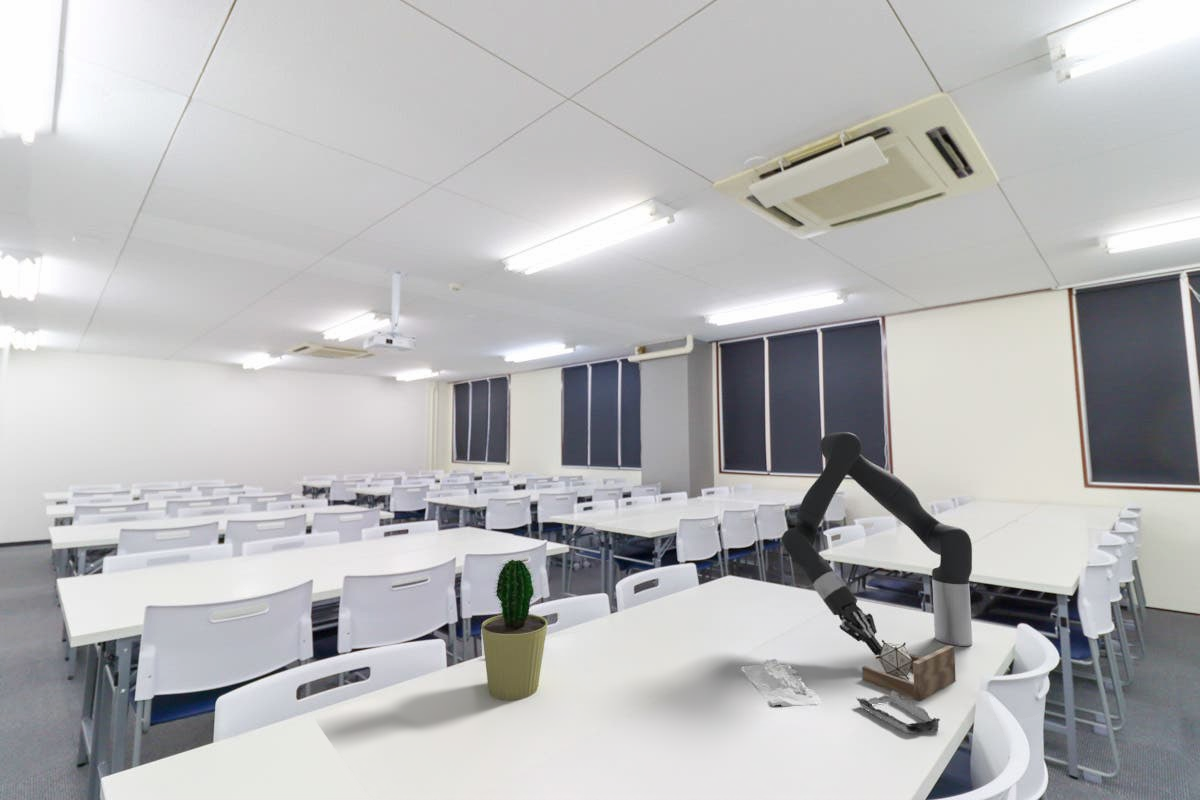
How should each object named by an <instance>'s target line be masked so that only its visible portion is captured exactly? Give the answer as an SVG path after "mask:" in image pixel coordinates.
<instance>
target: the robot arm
mask: <svg viewBox="0 0 1200 800" xmlns="http://www.w3.org/2000/svg"><path fill="white" fill-rule="evenodd" d="M862 447H863V446H862V442H861V439H860V438H859V437H858V436H857V435H856V434H854V433H852V432H848V431H847V432H846V431H841V432H839V431H838V432H831V433H829V434H826V435H824V436H823V437H822V438H821V440H820V443H819V448H820V452H821V454H822V456H823V457H824V458H825V459H826V460H827V463H826V465H825V467H824V469H823V470H822V472H821V474H820V475H819V476H818V478H817V479H816V480H815V482H814V483H813V484H812V485H811V486H810V487H809V489H808V490H807V492H806V493H805V495H804V497H803V499H802V501H801V503H800V505H799V507H798V509H797V512H796V515H795V517H796V524H795V526H794V528H789V529H787V530H785V531H784V532H783V534H782V536H781V544H782V547H783V548H784V550H785V551H786V552H787V554H788V555H789V556H790V557H791V558H792V559H793V561H794V562H795V563H796V565H798V567H800V569H801V570H802V572H803V573H804V575H805V576H806V578H807V579H808V580H809V582H810V583H811V585H812V586H813V587H814V589H815V591H816V592H817V594H818V596H819V597H820V598H821V600H822V601H823V602H824V604H825V605H826V606H827V608H828V610H830V612H831V613H832V615H834V616H838V617H839V619H840V620H841V624H839V626H838V627H839V629H840V630H842V631H843V632H844V633H846V634H847V635H848V636H850V637H852V638H853V639H855V641H857V642H860V641H861V642H863V643H865V644H866V645H867V647H868V648H869V650H871V652H872V653H873V655H874V656H879V654H880V653H881V649H882V646H883V645H881V643H880V642H879V641H878V639H877V638H876V633H878V631H877V628H876V624H875V622H874V618H873V615H872V614H871V613H867V614H866V613H864V612H863V610H862V608H860V606H858V605H857V602H858V599H857V597H856V596H855V595H854V593H853V592H852V591H851V589H850V588H849V587H848V585H847V584H846V583H845V582H844V580H843V579H842V578H841V577H840V575H838V574H837V573H836V572H835V570H834V569H833V568H832V567H831V566H830V564H829V563H828V561H827V560H826V559H825V558H824V557H823V556H822V555H821V554H820V553H818V552H817V550H816V549H815V547H814V545H815V543H816V538H817V537H818V536H817V535H818V531H819V529H820V528H819V527H820V525H821V524H822V521H823V519H824V517H825V515H826V513H827V510H828V508H829V506H830V504H831V502H832V499H833V498H834V496H835V494H836V492H837V490H838V489H839V487H840V485H841V484H842V482H843V481H844V480H845V477H846V476H847V475H848V476H849V477H851V478H852V480H853V481H855V482H856V483H857V484H858V485H859V486H860V487H861V488H862V489H863V490H864V491H866V493H868V495H870V496H871V497H872V498H873V499H874V500H875V501H876V502H877V503H878V504H879V505H881V506H882V507H883V508H884V509H886V510H887V511H888V512H889V513H891V514H892V515H893V516H894V517H895V518H897V520H899V521H900V522H901V523H903V524H904V525H905V526H907V527H908V529H910V530H911V531H912V533H914V534H915V536H917V538H918V539H919V540H920V541H921V542H922V543H923V544H924V546H925V547H927V548H928V549H929V550H930V551H932V552H933V553H935V554H936V555H939V556H940V562H939V566H938V567H934V568H932V571H931V578H932V579H931V580H932V581H931V582H932V601H933V603H932V604H933V623H934V638H935V640H937V641H938V642H941V643H943V644H948V645H950V646H961V647H966V646H967V647H968V646H972V645H973V633H972V632H973V630H972V629H973V628H972V613H971V593H970V591H971V590H970V576H971V574H972V571H973V545H972V544H973V543H972V539H971V537H970V535H969V533H968V532H967V531H966V530H965V529H962V528H960V527H958V526H953V525H952V526H951V525H947V524H944V523H942V522H940V521H939V520H937V519H936V518H934V516H932V515H931V514H930V513H928V512H927V511H926V510H925V508H923V506H922V504H921V503H920V501H919V498H918V497H917V495H916V494H915V492H914V491H913V489H911V488H910V487H909V486H908V485H907V484H906V483H904V481H902V480H901V479H900V478H899V477H897V476H896V475H895V474H893V473H891V472H889V471H888V470H887V469H884V468H882V467H881V466H879V465H878V464H877V465H876V464H874V462H871V461H870V460H868V459H867V458H865V457H864V456H863V455H862V454H861V453H862V450H863V449H862Z"/></svg>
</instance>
